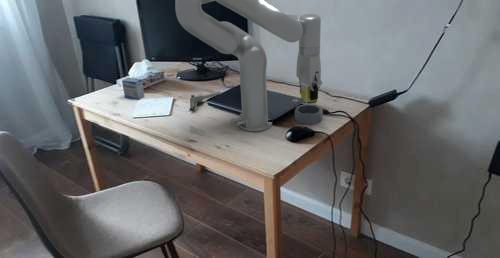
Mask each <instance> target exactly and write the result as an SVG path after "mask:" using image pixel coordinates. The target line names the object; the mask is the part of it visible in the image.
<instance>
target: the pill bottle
mask: <svg viewBox="0 0 500 258" xmlns="http://www.w3.org/2000/svg"><path fill="white" fill-rule="evenodd" d="M314 81H315V80H314ZM314 81H313V82H314ZM314 85H315V83H313V87H314ZM310 90H311V86H310V84H308V83H306V82H304V81H303V80H302V81H301V94H300V103H301V105H317V103H318V99H316V100H312V101H311V100H310Z"/></svg>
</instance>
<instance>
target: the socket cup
mask: <svg viewBox="0 0 500 258" xmlns="http://www.w3.org/2000/svg"><path fill="white" fill-rule="evenodd" d="M323 111H324V109H323V108H322V107H321V106H319V105H317V104H314V105H304V104H301V105H297V106H296V108H295V109H294V119H295V121H296V122H297V123H299V124H302V125H315V124H316V125H317V124H318V123H321V122H322V121H323V115H324V112H323Z"/></svg>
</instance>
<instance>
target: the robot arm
mask: <svg viewBox="0 0 500 258" xmlns="http://www.w3.org/2000/svg"><path fill="white" fill-rule="evenodd" d="M174 1H175V3H174V5H175V6H174V7H175V8H174V9H175V15H176V18H177V21H178V23H179V24H180V26H181V27H182V28H183V29H184V30H185V31H186V32H188V33H189V34H191V35H192V36H193V37H195V38H198V39H199V40H200V41H202V42H203V43H205V44H206V45H208V46H209V47H212V48H214V50H215V51H216V50H217V51H218V52H219V53H221V54H225V55H233V56H234V57H236V58H237V60H238V63H239V86H240V97H241V98H240V100H241V113H239V116H238V117H236V118H232V119H230V125H236V126H239V128H240V129H242V130H243V131H246V132H261V131H262V132H263V131H265V130H267V129H269V128H270V127H272V126H273V121H272V122H268V117H269V115H268V93H267V91H268V90H267V89H268V87H267V68H268V67H267V66H268V65H267V63H268V61H267V59H268V58H267V54H266V51H265V49H264V47H263V46H262V45H261V43H260V42H259V41H258V40H257V38H255V37H254V36H252V35H251V34H249V33H248V32H246V31H244V30H243V29H241V28H240V27H238V26H237V25H235V24H233V23H231V22H229V21H225V20H224V21H219V20H217V19H216V18H214V17H213V16H211V15H209V14H208V13H206V12H205V11H204V10H203V9H202V8H203V7H202V5H204V4H208V3H211V2H214V1H215V2H217V3H218V4H219V5H222V6H223V7H225V8H227V9H228V10H229V9H230V10H231V11H233V12H234V13H237V15H240V16H241V17H243V18H245V19H247V20H249V21H250V22H251V23H253V24H255V25H258V26H259V27H260V28H263V29H264V30H266V31H268V32H269V33H270V34H271V35H274V36H276V37H278V38H279V39H282V40H283V41H285V42H287V43H296V42H298V54H297V59H296V70H295V71H296V72H295V73H296V77H297V78H298V80H299V81H298V84H299V95H301V81H302V80H303V81H304V82H306V83H308V84H310V86H311V90H310V100H311V101H312V100H316V99H317V100H318V98H319V90H320V88H321V86H322V85H323V82H322V66H321V56H320V54H321V27H322V26H321V22H322V21H321V17H320V15H319V14H315V13H306V14H303V15H299V14H298V15H297V14H285V12H283V11H281V10H279V9H277V8H276V7H275V6H273V5H272V4H271V3H270V2H269V1H267V0H174ZM314 80H315V81H314ZM313 81H314V82H313ZM313 83H315V85H314V87H313Z"/></svg>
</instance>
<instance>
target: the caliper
mask: <svg viewBox="0 0 500 258" xmlns="http://www.w3.org/2000/svg"><path fill="white" fill-rule="evenodd" d="M220 93H222V92H221V91H216V92H212V93H209V94H204V95H196V94H194V93H193V94H191V95H190V98H189V107H190V109H191V110H193V109H197V105H198V102H199V103H201V102H203V101H204V100H206V99H211V98H214V96H215V97H217V96H216V95H218V94H220Z"/></svg>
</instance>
